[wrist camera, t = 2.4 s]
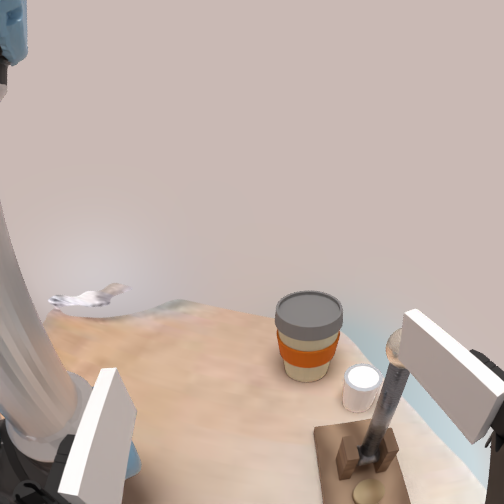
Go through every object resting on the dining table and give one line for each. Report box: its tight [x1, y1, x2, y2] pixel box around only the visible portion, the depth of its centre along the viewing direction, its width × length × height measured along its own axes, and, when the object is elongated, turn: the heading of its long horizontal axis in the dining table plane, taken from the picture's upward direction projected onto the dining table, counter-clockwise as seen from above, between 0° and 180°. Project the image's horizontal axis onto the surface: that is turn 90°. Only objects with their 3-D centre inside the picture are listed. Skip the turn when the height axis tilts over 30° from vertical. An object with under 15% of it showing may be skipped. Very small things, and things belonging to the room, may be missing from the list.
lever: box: [356, 328, 410, 466], centre depth 29 cm, size 4×4×24 cm
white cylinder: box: [343, 364, 383, 413], centre depth 48 cm, size 7×7×7 cm
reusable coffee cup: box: [275, 291, 343, 382], centre depth 57 cm, size 13×12×15 cm
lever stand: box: [314, 419, 411, 504], centre depth 34 cm, size 12×18×9 cm, turn 179°
